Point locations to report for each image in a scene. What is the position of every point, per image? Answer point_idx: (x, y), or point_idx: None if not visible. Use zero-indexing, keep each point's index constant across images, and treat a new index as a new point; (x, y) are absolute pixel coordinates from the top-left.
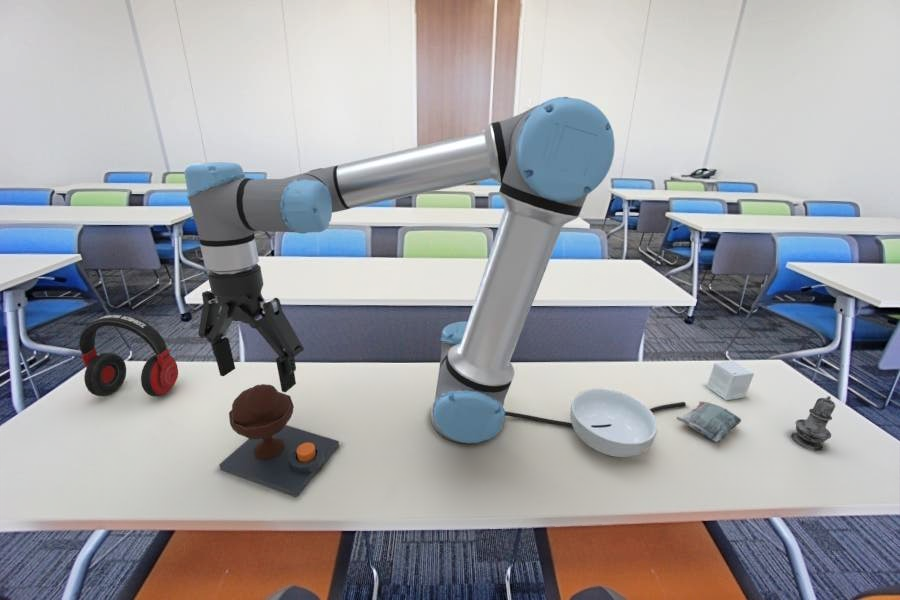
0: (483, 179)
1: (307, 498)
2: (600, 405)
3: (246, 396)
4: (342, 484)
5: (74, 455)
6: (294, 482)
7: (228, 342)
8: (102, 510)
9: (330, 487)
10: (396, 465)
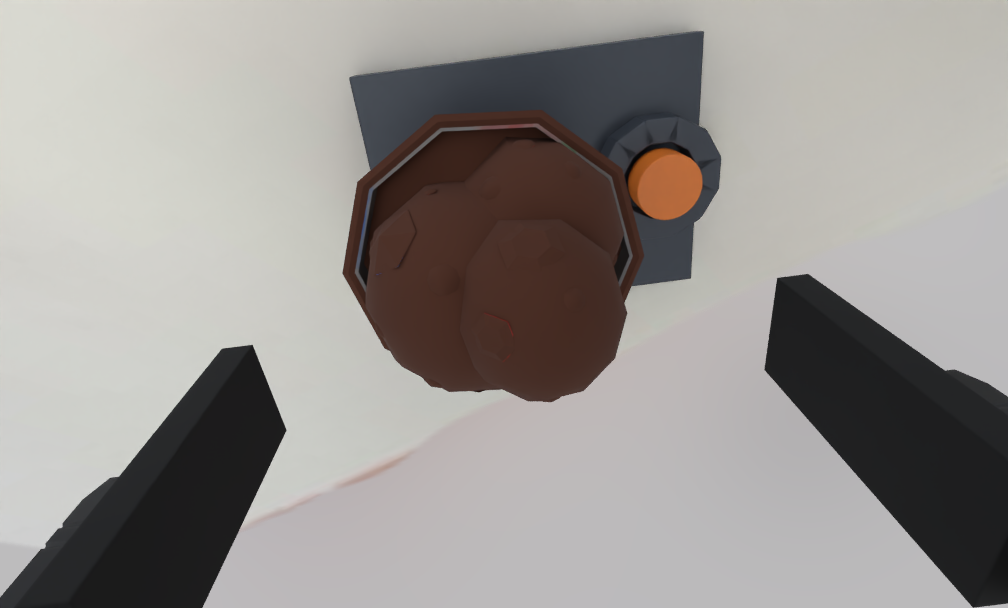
0: None
1: (711, 256)
2: None
3: (499, 386)
4: (786, 171)
5: (4, 454)
6: (667, 257)
7: (111, 552)
8: (291, 486)
9: (756, 197)
10: (946, 5)
